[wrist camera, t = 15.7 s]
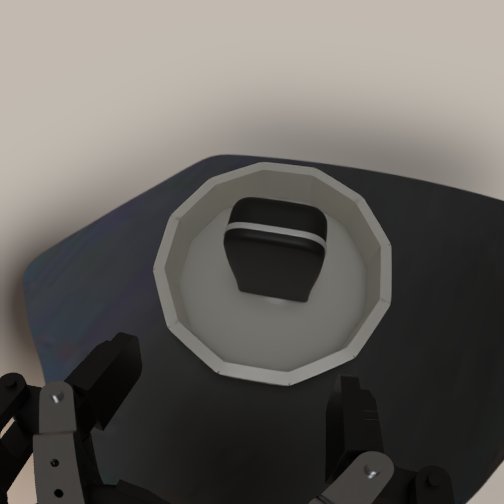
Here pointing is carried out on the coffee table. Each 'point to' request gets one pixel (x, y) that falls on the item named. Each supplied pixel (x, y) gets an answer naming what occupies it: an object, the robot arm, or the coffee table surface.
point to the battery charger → (275, 247)
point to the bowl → (269, 308)
